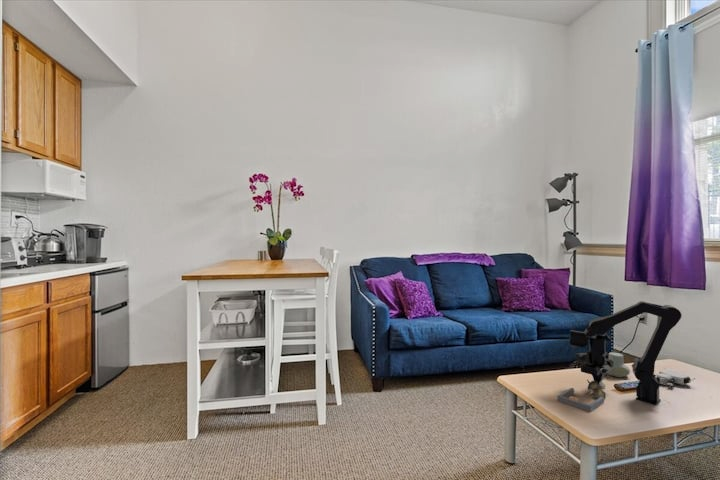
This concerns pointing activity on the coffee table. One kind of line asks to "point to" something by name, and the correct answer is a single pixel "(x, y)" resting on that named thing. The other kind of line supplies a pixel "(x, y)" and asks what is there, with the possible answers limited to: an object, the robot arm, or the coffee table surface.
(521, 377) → the coffee table surface
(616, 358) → the air freshener
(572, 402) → the pocket
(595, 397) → the eagle figurine
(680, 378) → the robot toy
